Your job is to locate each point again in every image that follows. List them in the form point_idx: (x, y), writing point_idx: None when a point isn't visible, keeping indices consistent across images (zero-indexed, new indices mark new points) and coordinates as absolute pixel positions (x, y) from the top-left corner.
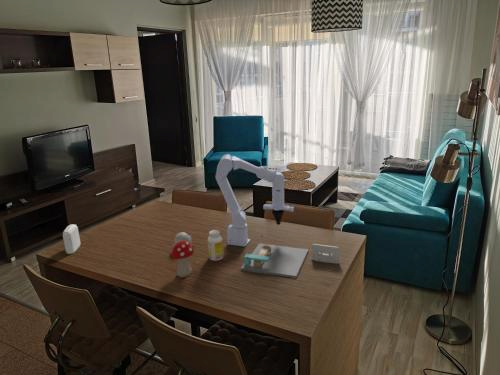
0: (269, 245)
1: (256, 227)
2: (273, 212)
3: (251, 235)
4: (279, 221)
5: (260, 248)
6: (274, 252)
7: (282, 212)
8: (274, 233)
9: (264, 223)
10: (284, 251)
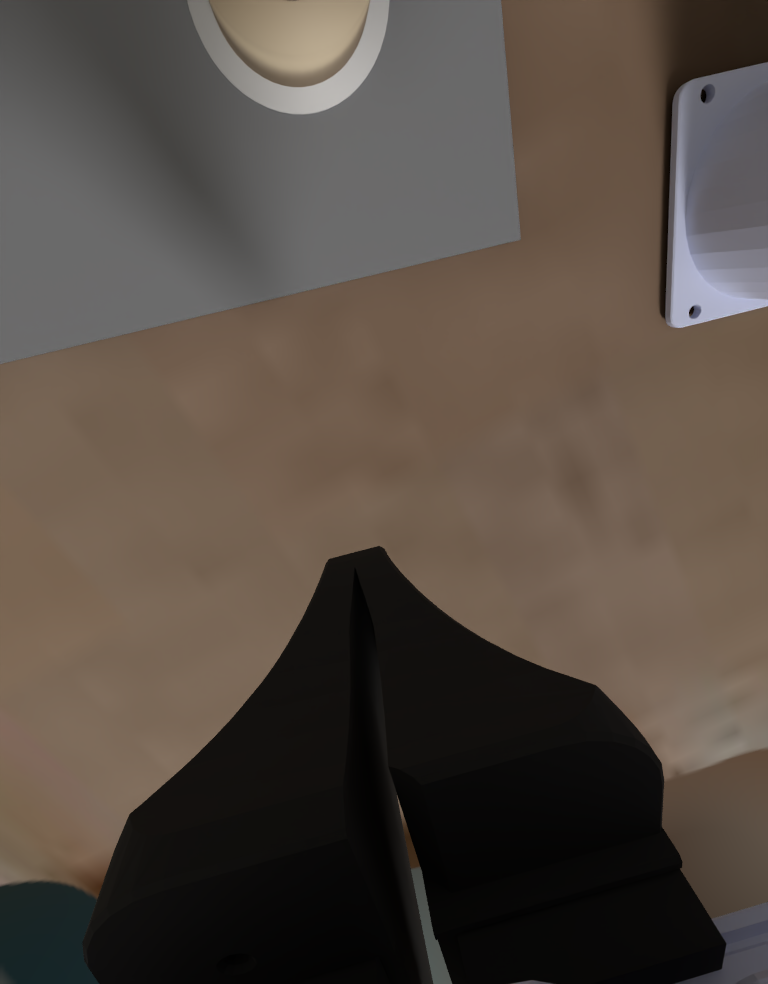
0: (272, 44)
1: (692, 616)
2: (561, 742)
3: (688, 443)
4: (313, 598)
5: (434, 70)
6: (160, 30)
7: (90, 945)
8: (480, 597)
9: (647, 708)
10: (51, 157)
